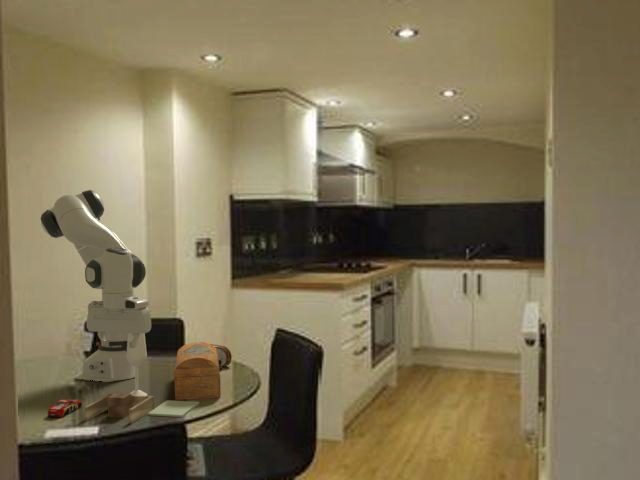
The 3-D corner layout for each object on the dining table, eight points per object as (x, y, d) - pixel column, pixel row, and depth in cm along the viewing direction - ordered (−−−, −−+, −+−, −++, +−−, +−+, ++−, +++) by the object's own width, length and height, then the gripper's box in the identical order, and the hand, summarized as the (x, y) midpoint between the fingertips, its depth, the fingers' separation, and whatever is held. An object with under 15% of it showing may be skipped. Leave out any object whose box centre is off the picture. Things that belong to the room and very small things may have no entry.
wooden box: (223, 398, 207) (223, 356, 207) (172, 400, 204) (172, 358, 204) (221, 376, 237) (220, 340, 236) (176, 378, 234) (176, 341, 233)
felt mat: (147, 415, 188) (147, 413, 188) (167, 402, 202) (167, 400, 202) (182, 417, 186) (182, 415, 186) (199, 403, 200) (199, 401, 200)
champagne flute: (123, 394, 211) (122, 324, 210) (142, 391, 215) (142, 322, 214) (130, 399, 205) (130, 326, 205) (150, 395, 209) (149, 324, 209)
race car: (68, 406, 199) (68, 393, 199) (84, 407, 198) (84, 394, 198) (44, 418, 186) (44, 405, 186) (60, 419, 185) (60, 406, 185)
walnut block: (108, 417, 186) (107, 397, 186) (116, 412, 191) (116, 392, 191) (123, 418, 186) (123, 398, 185) (131, 413, 190) (131, 393, 190)
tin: (232, 367, 251) (232, 346, 251) (227, 368, 249) (226, 347, 248) (204, 362, 259) (204, 342, 259) (199, 364, 257) (199, 343, 256)
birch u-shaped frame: (84, 420, 183) (84, 407, 183) (109, 406, 197) (109, 393, 197) (132, 423, 180) (132, 409, 180) (154, 408, 194) (154, 396, 194)
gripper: (81, 301, 188) (82, 347, 189) (142, 303, 183) (143, 350, 184) (94, 299, 194) (94, 343, 195) (153, 301, 190) (154, 346, 190)
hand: (118, 346), depth 189 cm, fingers open, 8 cm apart
